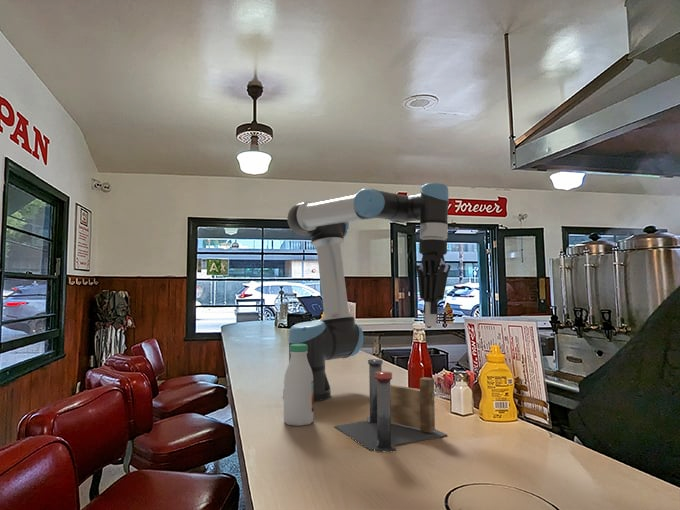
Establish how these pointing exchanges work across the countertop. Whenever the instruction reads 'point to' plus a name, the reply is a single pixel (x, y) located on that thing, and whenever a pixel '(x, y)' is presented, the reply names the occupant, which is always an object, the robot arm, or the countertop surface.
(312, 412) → the milk bottle
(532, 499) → the countertop surface
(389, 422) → the post
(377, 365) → the hinge post
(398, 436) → the bar mat
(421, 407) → the gate
